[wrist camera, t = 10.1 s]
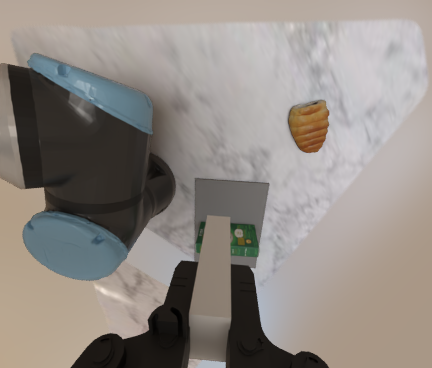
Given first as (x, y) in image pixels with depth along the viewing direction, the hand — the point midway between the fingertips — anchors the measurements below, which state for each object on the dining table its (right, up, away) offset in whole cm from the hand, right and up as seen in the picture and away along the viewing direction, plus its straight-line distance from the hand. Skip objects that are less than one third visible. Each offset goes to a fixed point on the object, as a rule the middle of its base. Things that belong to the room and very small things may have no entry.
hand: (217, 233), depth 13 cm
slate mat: (+3, -7, +35) cm, 36 cm away
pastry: (+17, +15, +25) cm, 34 cm away
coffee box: (+9, -9, +31) cm, 33 cm away
